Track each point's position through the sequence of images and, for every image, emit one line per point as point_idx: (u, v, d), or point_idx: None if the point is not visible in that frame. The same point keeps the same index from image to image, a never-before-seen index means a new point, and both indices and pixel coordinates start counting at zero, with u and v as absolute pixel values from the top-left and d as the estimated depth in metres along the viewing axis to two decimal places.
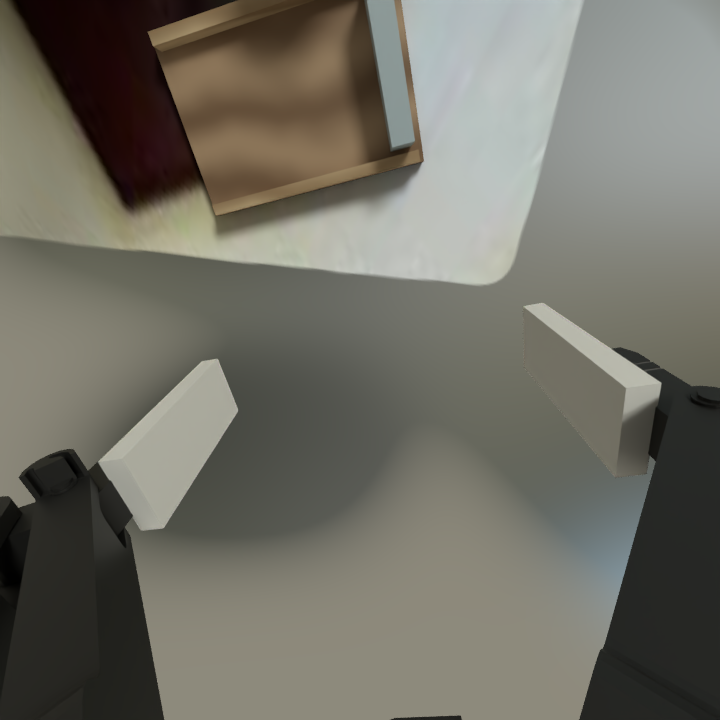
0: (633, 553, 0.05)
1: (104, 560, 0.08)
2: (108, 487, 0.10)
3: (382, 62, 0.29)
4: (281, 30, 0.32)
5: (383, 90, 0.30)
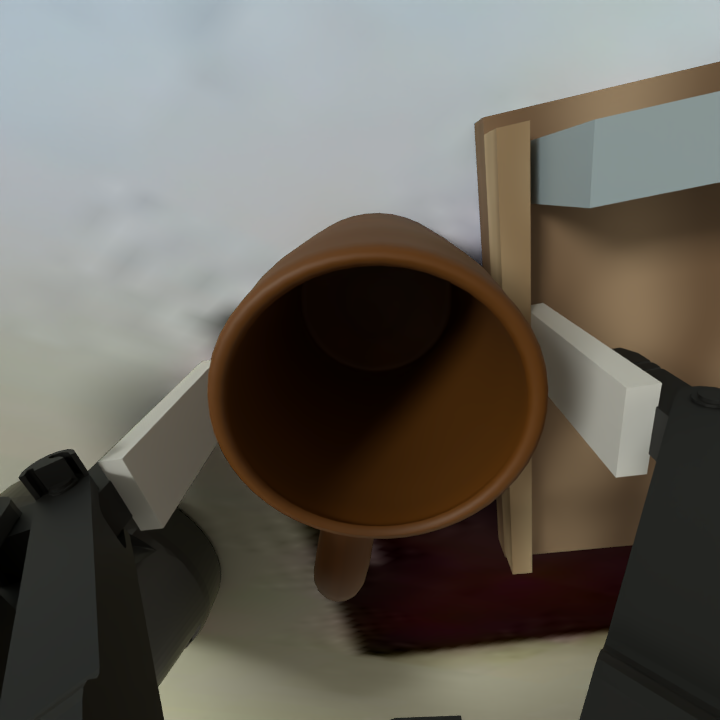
0: (633, 553, 0.05)
1: (104, 560, 0.08)
2: (108, 487, 0.10)
3: None
4: None
5: None
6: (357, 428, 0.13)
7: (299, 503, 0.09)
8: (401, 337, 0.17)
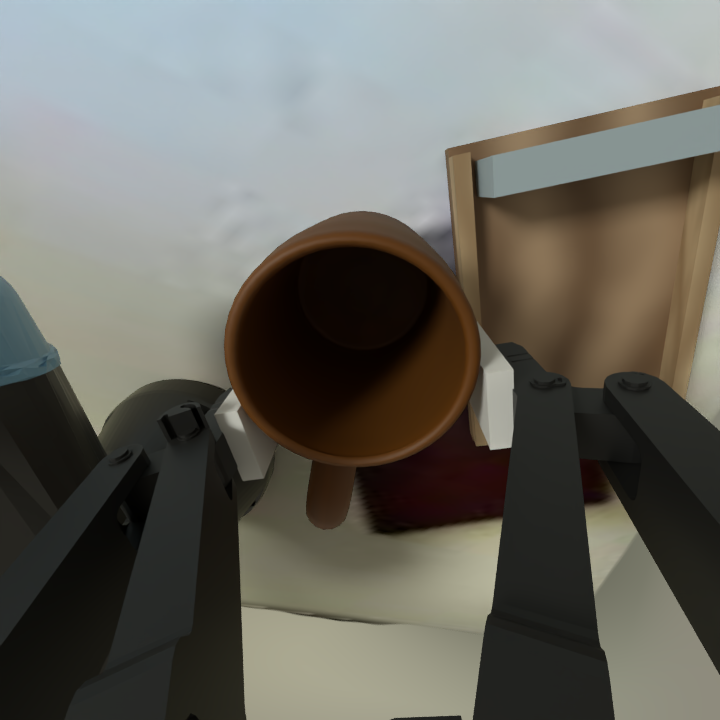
0: (504, 522, 0.06)
1: (211, 513, 0.08)
2: (222, 438, 0.11)
3: (617, 163, 0.18)
4: (493, 306, 0.26)
5: (656, 162, 0.18)
6: (344, 392, 0.16)
7: (294, 438, 0.12)
8: (385, 319, 0.19)
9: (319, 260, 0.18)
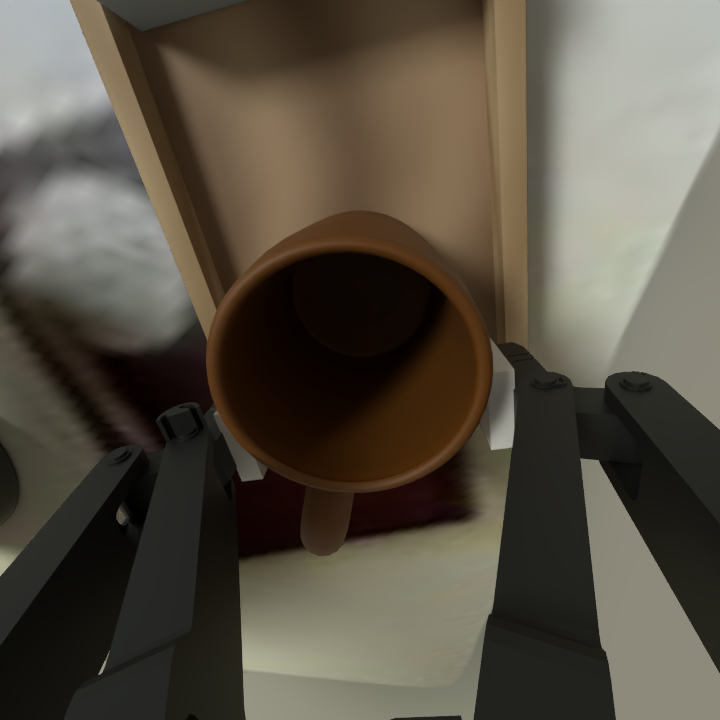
0: (505, 522, 0.06)
1: (210, 513, 0.08)
2: (221, 438, 0.11)
3: None
4: (228, 232, 0.17)
5: None
6: (341, 405, 0.15)
7: (285, 462, 0.11)
8: (384, 325, 0.18)
9: (314, 263, 0.17)
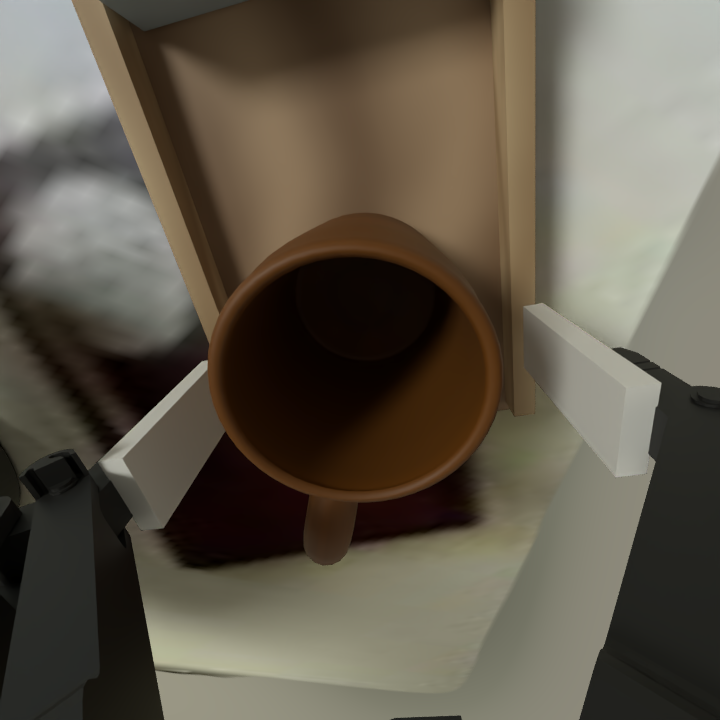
0: (633, 553, 0.05)
1: (104, 560, 0.08)
2: (108, 487, 0.10)
3: None
4: (231, 234, 0.16)
5: None
6: (345, 411, 0.14)
7: (288, 470, 0.10)
8: (389, 329, 0.18)
9: (318, 265, 0.17)
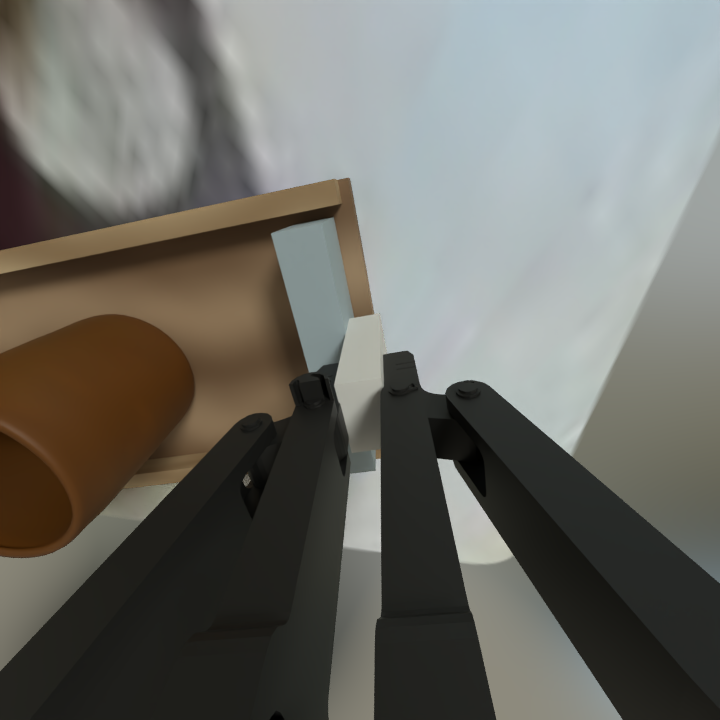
0: (383, 526, 0.06)
1: (323, 490, 0.08)
2: (340, 408, 0.11)
3: None
4: (158, 267, 0.19)
5: None
6: None
7: None
8: None
9: None
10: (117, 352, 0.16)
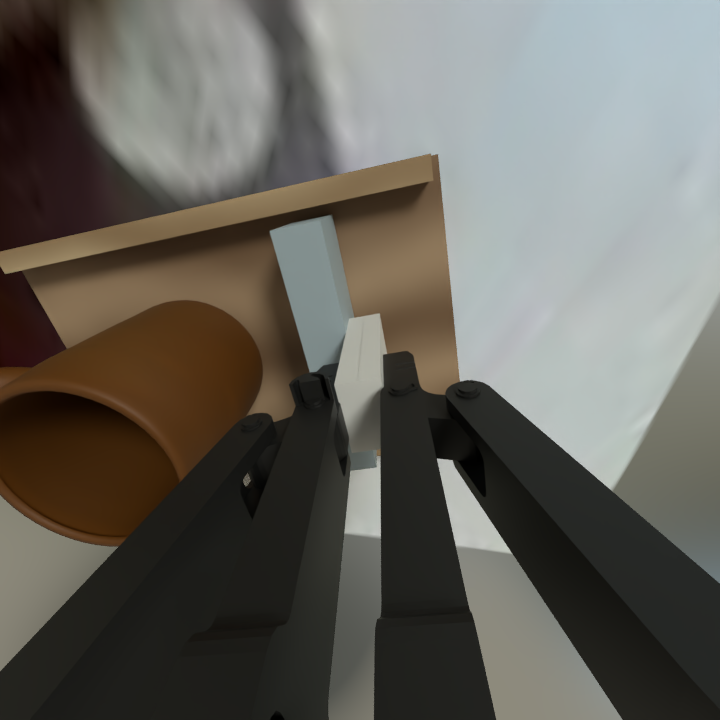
0: (383, 526, 0.06)
1: (324, 490, 0.08)
2: (340, 408, 0.11)
3: (318, 368, 0.16)
4: (233, 250, 0.18)
5: None
6: None
7: None
8: None
9: None
10: (202, 336, 0.16)
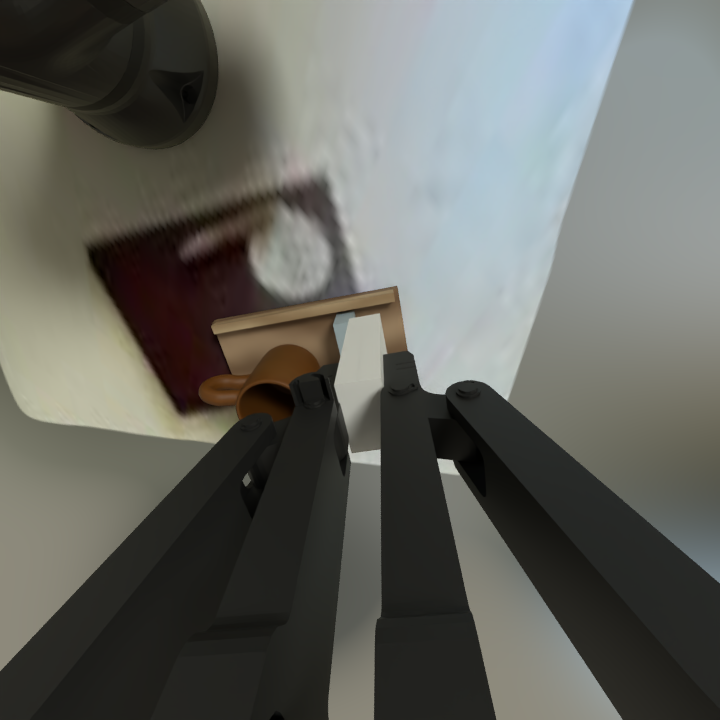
0: (383, 525, 0.06)
1: (323, 490, 0.08)
2: (340, 408, 0.11)
3: None
4: (311, 323, 0.42)
5: None
6: None
7: (243, 393, 0.36)
8: None
9: None
10: (303, 362, 0.40)
